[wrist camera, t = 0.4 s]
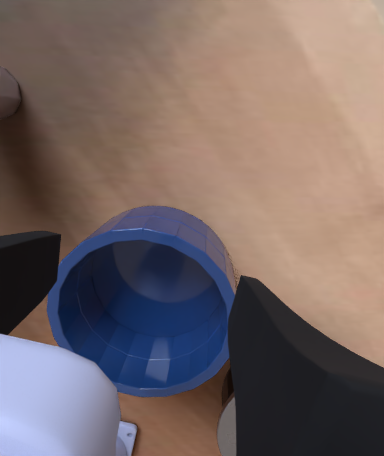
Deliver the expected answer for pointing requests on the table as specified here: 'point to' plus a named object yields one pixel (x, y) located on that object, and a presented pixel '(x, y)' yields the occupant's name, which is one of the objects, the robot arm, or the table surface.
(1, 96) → the milkshake
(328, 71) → the table surface
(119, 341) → the pot
